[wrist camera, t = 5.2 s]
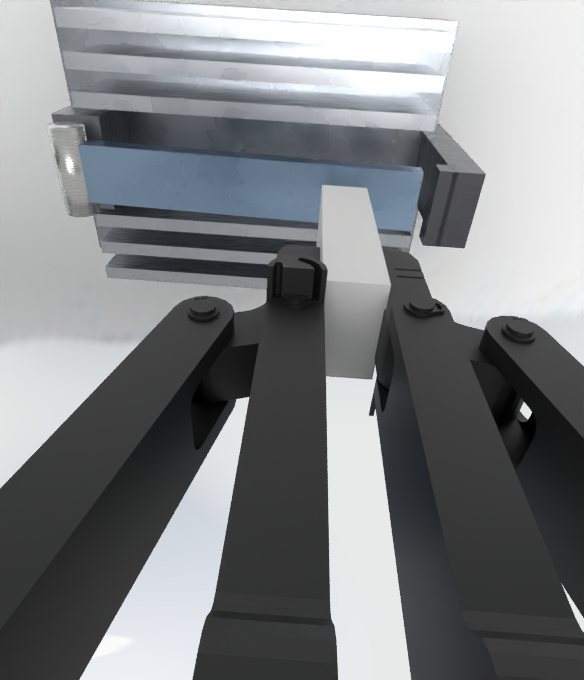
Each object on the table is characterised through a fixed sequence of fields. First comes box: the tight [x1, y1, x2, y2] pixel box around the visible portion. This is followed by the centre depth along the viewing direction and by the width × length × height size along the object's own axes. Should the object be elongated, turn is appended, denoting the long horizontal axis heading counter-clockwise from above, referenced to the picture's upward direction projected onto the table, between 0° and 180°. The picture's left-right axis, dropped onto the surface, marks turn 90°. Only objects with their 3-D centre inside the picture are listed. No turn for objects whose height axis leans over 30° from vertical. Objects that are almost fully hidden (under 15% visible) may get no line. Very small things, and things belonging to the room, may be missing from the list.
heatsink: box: [50, 0, 486, 289], centre depth 22 cm, size 19×12×9 cm, turn 87°
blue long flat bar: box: [47, 122, 424, 231], centre depth 20 cm, size 15×4×1 cm, turn 87°
